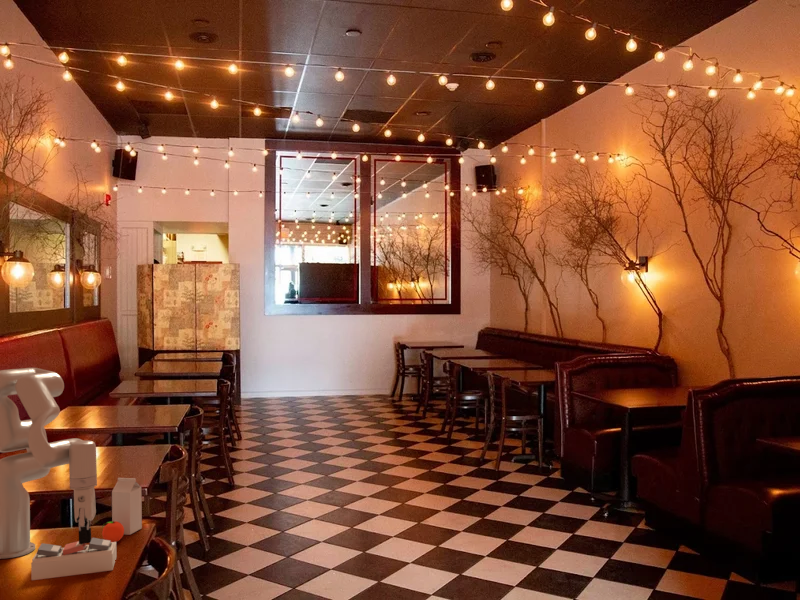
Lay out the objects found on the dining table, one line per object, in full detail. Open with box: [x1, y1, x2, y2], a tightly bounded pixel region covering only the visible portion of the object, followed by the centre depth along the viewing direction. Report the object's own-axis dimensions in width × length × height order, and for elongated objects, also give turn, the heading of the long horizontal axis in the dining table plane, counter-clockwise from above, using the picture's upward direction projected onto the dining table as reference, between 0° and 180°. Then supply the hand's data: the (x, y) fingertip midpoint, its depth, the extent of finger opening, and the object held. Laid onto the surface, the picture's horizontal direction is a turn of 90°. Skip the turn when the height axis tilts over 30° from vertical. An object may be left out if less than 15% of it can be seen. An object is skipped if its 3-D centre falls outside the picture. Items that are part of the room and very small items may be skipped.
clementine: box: [101, 520, 125, 543], centre depth 225 cm, size 8×7×7 cm
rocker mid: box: [63, 540, 87, 555], centre depth 201 cm, size 6×6×2 cm
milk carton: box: [111, 477, 143, 536], centre depth 236 cm, size 7×7×19 cm
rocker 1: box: [36, 542, 62, 556], centre depth 199 cm, size 6×6×2 cm
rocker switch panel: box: [30, 542, 117, 581], centre depth 202 cm, size 22×11×6 cm, turn 108°
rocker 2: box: [88, 537, 111, 551], centre depth 203 cm, size 6×6×2 cm
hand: (85, 542), depth 202 cm, fingers closed
